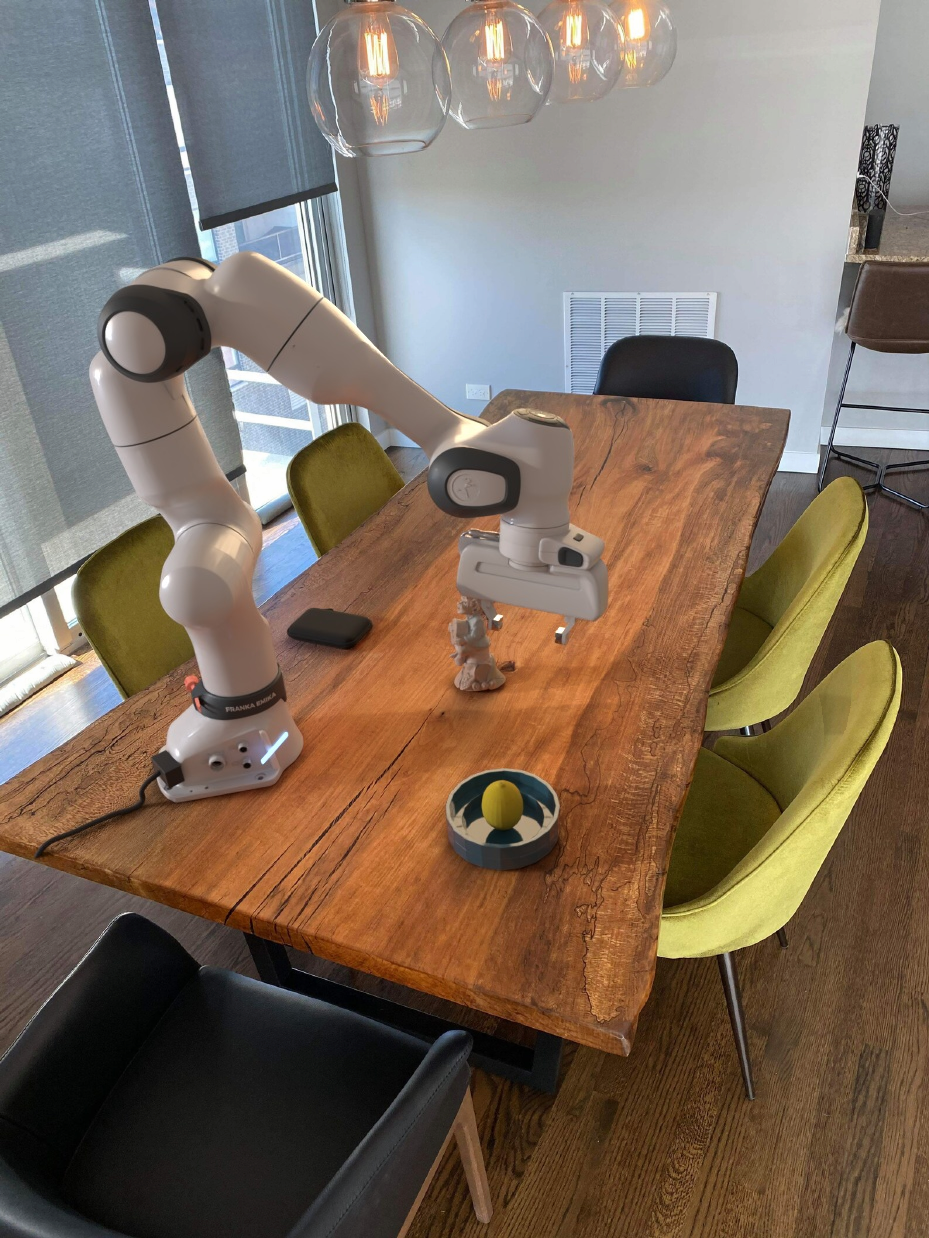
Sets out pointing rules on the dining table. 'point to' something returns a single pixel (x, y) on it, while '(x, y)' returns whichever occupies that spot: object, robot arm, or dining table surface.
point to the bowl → (503, 846)
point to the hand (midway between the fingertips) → (528, 635)
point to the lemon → (502, 805)
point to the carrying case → (330, 628)
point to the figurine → (473, 649)
